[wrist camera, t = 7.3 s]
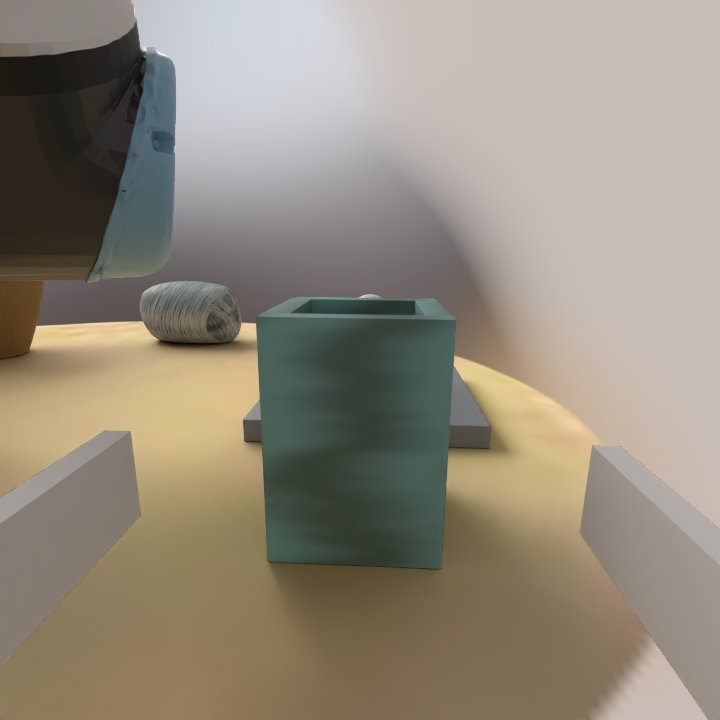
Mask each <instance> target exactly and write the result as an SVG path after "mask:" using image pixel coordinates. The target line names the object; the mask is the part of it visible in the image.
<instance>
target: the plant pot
mask: <svg viewBox="0 0 720 720" xmlns="http://www.w3.org/2000/svg"><path fill="white" fill-rule="evenodd" d="M43 286H44V281H0V359H3V358H9V357H14V356H18V355H21V354H24V353H27V352H28V351H29V349H30V346H31V343H32V339H33V336H34V332H35V328H36V324H37V320H38V315H39V310H40V305H41V300H42V294H43Z"/></svg>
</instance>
